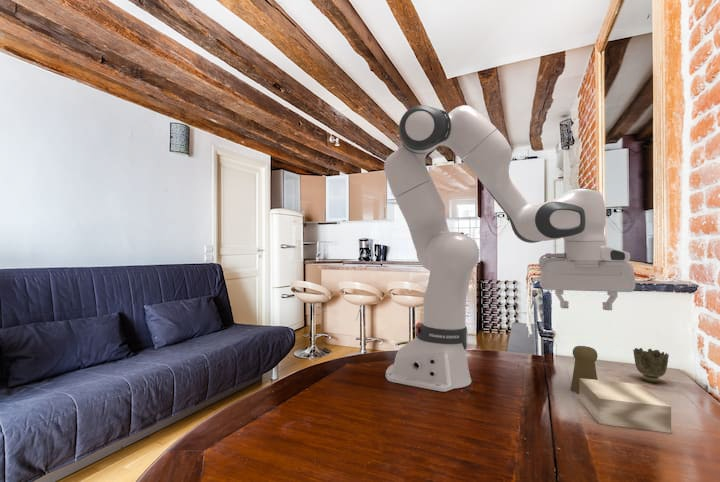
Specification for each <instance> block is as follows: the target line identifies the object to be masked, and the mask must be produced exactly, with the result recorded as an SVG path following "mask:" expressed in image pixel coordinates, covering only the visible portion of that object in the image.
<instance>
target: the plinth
mask: <svg viewBox="0 0 720 482" xmlns="http://www.w3.org/2000/svg"><path fill="white" fill-rule="evenodd" d="M578 396H579V397H578V398H579V399H578V400H579V402H580V403H581V404H582V405H583V406H584V408H586V410H587V409H588V410H587V411H588V412H589V413H590V414H591V415H592V417H593V418H594V419H595V420H596V422H597V423H598V424H599V425H605V426H606V425H607V426H614V427H620V426H621V428H628V429H639V430H646V431H650V432H651V431H653V432H660V433H666V434H667V433H669V434H671V433H672V406H671V405H670V404H668V403H667V402H666V401H664V400H662V399H661V398H660V397H658V396H657V395H656V394H654V393H653V392H651V391H650V390H648V388H646V387H644V386H643V385H642V384H640V383H631V382H622V381H612V380H603V379H602V380H601V379H597V380H593V379H583V378H579V394H578Z"/></svg>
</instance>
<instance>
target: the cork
mask: <svg viewBox="0 0 720 482" xmlns="http://www.w3.org/2000/svg"><path fill="white" fill-rule="evenodd" d="M572 356H573V358H574V366H573V373H572V377H571V385H570V390H571V391H572V392H573V393H575V394H577V395H579V378H583V379H593V380H598V374H597V369H596V361H597V360H598V352H597V350H596V349H595V348H594V347H591V346H586V345H577V346H574V348H573V349H572Z"/></svg>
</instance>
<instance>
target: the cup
mask: <svg viewBox="0 0 720 482" xmlns="http://www.w3.org/2000/svg"><path fill="white" fill-rule="evenodd" d="M632 351H633V358H634V364H635V368H636V370H637V371H638V372H639V373H640V374H642V376H641V378H642V380H644V381H645V382H648V383H653V384H657V383H659V382H660V377H663V376H665V374H666V372H667V368H668V363H669V357H670V355H669V353H668V352H666V353H665V352H664V351H662V352H660V350H659V349H655V350H652V348H648V349H647V351H646V350H644V349H643V348H642V347H640V348H638V347H637V348H636V347H634V348H633V349H632Z"/></svg>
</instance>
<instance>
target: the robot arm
mask: <svg viewBox="0 0 720 482" xmlns="http://www.w3.org/2000/svg"><path fill="white" fill-rule="evenodd" d="M398 135H399V138H400V143H401V144H400V146H399V147H398V149H397V150H395V151H393V152H392V153H391V154H389V155H388V156H387V158H386V159H385V161H384V164H383V168H384V173H385V177H386V179H387V182H388V185H389V189H390V191H391V194H392V195H393V198H394V200H395V201H396V204H397V206H398V208H399V210H400V212H401V214H402V216H403V217H404V220H405V222H406V225H407V227H408V230H409V234H410V236H411V240H412V244H413V246H414V249H415V251H416V258H417V260H418V262H419V264H420V265H422V267H423V268H424V269H426V270H427V271H429V277H428V282H427V286H426V290H425V292H424V293H423V302H422V303H423V305H422V306H423V313H422V315H423V319H422V320H423V322H421V321H420V322H419V321H418V322H416V324H415V327H414V328H415V337H414V338H412V339H411V340H410V341H408V342H407V343H406V344H404V345H402V347H401V348H399V349H398V351H397V352H396V355H395V356H394V357H395V358H394V363H392V364H390V365H389V366H388V367H387V369H386V370H385V378H386V380H387V381H388V382H391V383H397V384H400V385H401V384H402V385H407V386H411V387H416V388H420V389H426V390H432V391H438V392H448V391H451V390H454V389H460V388H465V387H468V386H470V385H471V384H472V378H471V375H470V369H469V363H468V358H467V348H468V338H469V337H468V328H467V326H466V317H467V316H466V311H467V308H466V305H467V294H468V290H469V286H470V285H469V284H470V281H471V276H472V272H473V270H474V269H475V267H476V266H477V265H478V262H479V259H480V249H479V246H478V244H477V243H476V241H475V240H474V238H472V237H471V236H468V235H466V234H464V233H461V232H458V231H457V232H456V231H450V230H449V226H448V222H447V219H446V217H447V216H446V207H445V203H444V201H443V199H442V197H441V195H440V193H439V191H438V188H437V187H436V186H437V185H435V183H434V181H433V178H432V176H431V174H430V172H429V169H428V168H427V165H426V159H428V157H429V156H430V155H431V154H432V153H434V151H436V149H438V147H439V146H442V147H447V148H449V149H451V151H453V152H454V154H456V156H458V158H460V160H461V161H462V162H463V164H464V165H466V167H468V169H469V170H470V171H471V172H472V174H474V175H475V177H477V179H478V180H479V181H480V183H481V184H482V185H483V186H484V188H485V189H486V191H487V192H488V193H489V195H490V196H491V197H492V199H493V200H494V201H495V202H496V203H497V205H498V206H499V207H500V208H501V210H502V211H503V212H504V213H505V215H506V217H507V218H508V220H509V222H510V227H511V229H512V231H513V233H514V235H515V236H516V237H517V238H518V239H519V240H520V241H522V242H524V243H528V244H535V243H539V242H545V241H555V240H560V239H564V240H563V241H564V242H563V243H564V244H563V246H564V252H563V253H562V252H561V253H558V252H557V253H550V252H549V253H545V254H543V255H542V256H540V257H539V259H538V266H539V269H540V276H539V286H540V287H541V288H542V289H543V290H547V291H548V290H550V291H554V294H555V296H556V297H557V299H558V300H559V307H560V308H561V309H569V308H570V307H569V304H570V303H569V301H568V300H565V298H563V295H564V291H576V292H577V291H578V292H579V291H581V292H582V291H583V292H606V294H607V296H609V297H608V298H607V300H606V302H605V301H602V310H603V311H613V304H614V302H615V301H616V299H617V298H618V295H619V294H618V293H633V292H634V290H635V288H636V277H635V270H634V267H633V266H632V264H631V263H630V262H629V261H630V260H631V253H630V252H627V251H624V250H621V249H617V248H613V247H609V246H607V239H606V237H605V228H606V225H607V223H606V221H607V220H606V219H607V216H606V205H605V200H604V197H603V195H602V193H601V192H600V191H599V190H596V189H594V188H589V187H588V188H587V187H575V188H571V189H568V190H567V191H566V192H565V193H563V194H561V195H559V196H558V197H556V198H553V199H551V200H547V201H545V202H541V203H539V204H536V205H535V204H532V203H530V202H528V200H526V198H525V196H523V194H522V193H521V191H520V190H519V189H518V188H517V187H516V186H515V184H514V183H513V181H512V179H511V178H510V173H509V171H510V164H511V163H512V159H513V158H512V157H513V150H512V147H511V145H510V144H509V142H508V140H507V139H506V137H505V136H504V135H503V134H502V132H501V131H500V130H499V129H498V128H497V127H496V126H495V125H494V124H493V123H492V122H491V121H490V120H489V119H487V117H486V116H484V115H483V114H482V113H480V112H479V111H478V110H476V109H475V108H474V107H472V106H470V105H467V104H466V105H465V104H464V105H463V104H462V105H460V106H456V107H454V109H452V110H451V111H449V112H447V111H446V110H443V109H438V108H435V107H432V106H429V105H422V104H421V105H416V106H415V105H414V106H412V107H410V108H409V109H408V110H406V111H405V113H404V114H403V115H402V117H401V119H400V121H399V123H398Z"/></svg>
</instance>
